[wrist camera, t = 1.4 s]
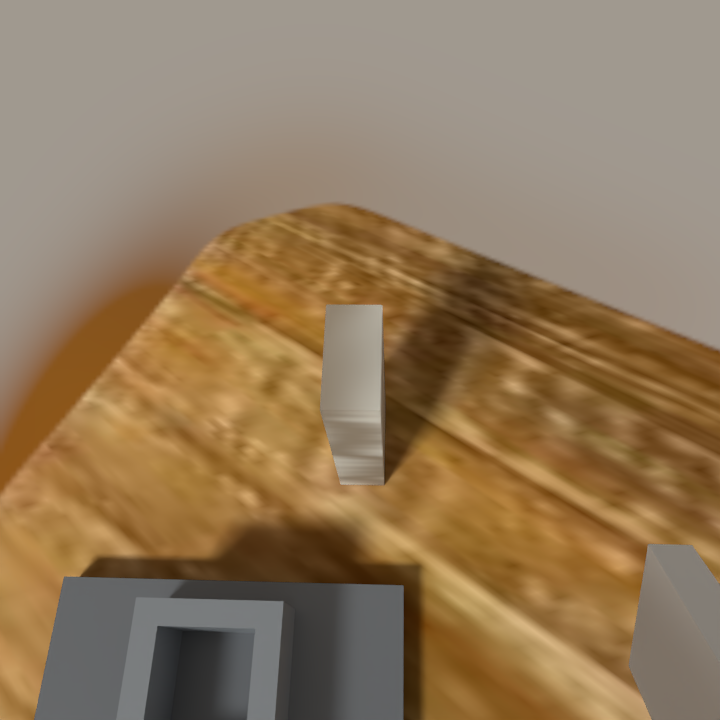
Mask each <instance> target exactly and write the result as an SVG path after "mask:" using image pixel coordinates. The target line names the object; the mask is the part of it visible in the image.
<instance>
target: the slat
mask: <svg viewBox="0 0 720 720" xmlns="http://www.w3.org/2000/svg"><path fill="white" fill-rule="evenodd" d="M320 411H321V415H322V419H323V422H324V426H325V429H326V433H327V437H328V440H329V444H330V447H331V451H332V455H333V458H334V462H335V465H336V469H337V472H338V476H339V480H340V483H341V485H384V470H385V373H384V342H383V310H382V305H326V317H325V334H324V351H323V368H322V385H321V402H320Z"/></svg>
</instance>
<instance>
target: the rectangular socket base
mask: <svg viewBox="0 0 720 720" xmlns="http://www.w3.org/2000/svg"><path fill="white" fill-rule="evenodd" d="M403 640H404V585H370V584H331V583H292V582H254V581H215V580H176V579H137V578H99V577H64V579H63V584H62V589H61V594H60V599H59V603H58V608H57V613H56V618H55V623H54V627H53V632H52V637H51V642H50V646H49V651H48V656H47V661H46V666H45V670H44V675H43V680H42V685H41V690H40V694H39V699H38V704H37V709H36V714H35V718H34V720H403Z"/></svg>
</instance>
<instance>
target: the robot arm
mask: <svg viewBox="0 0 720 720" xmlns="http://www.w3.org/2000/svg"><path fill="white" fill-rule="evenodd" d="M629 668H630V670H631V672H632V675H633V677H634V679H635V681H636V684H637V686H638V688H639V691H640V693H641V695H642V698H643V700H644V702H645V705H646V707H647V709H648V712H649V714H650V716H651V719H652V720H720V584H719V583H718V582H717V580H716V579H715V577H714V576H713V574H712V573H711V572H710V570H709V569H708V567H707V566H706V564H705V563H704V562H703V560H702V559H701V557H700V556H699V554H698V553H697V552H696V550H695V549H694V547H693V546H692V545H663V544H648V549H647V555H646V562H645V568H644V574H643V580H642V586H641V593H640V599H639V605H638V611H637V617H636V623H635V630H634V636H633V642H632V648H631V654H630V661H629Z"/></svg>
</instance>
